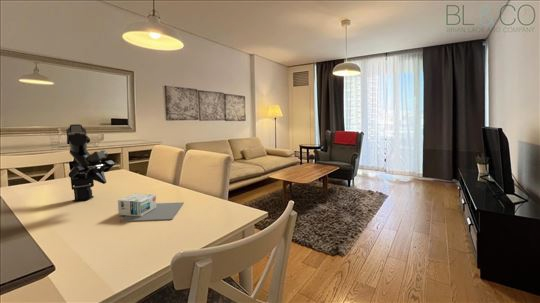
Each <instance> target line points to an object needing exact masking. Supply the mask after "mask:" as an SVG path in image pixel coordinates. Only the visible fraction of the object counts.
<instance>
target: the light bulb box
mask: <svg viewBox="0 0 540 303" xmlns="http://www.w3.org/2000/svg"><path fill="white" fill-rule="evenodd" d="M156 203H157V194H151V193H150V194H149V193H148V194H147V193H135V192H134V193H133V194H130V195H128V196H125V197H122V198H120V199H117V207H118V208H117V212H118V216H126V215H127V216H139V217H142V216H143V215H145V214H147V213H148V212H150V211H152V210H154V209H156Z"/></svg>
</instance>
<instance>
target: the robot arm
mask: <svg viewBox="0 0 540 303" xmlns="http://www.w3.org/2000/svg"><path fill="white" fill-rule="evenodd" d="M65 132H66V144H67V145H69V148H70V149H69V155H71V157H72V158H74V166H73V168H72V169H71V170H69V172H68V177H69V178H70V184H71V191H73V193H74V194H73V196H74V199H73V200H72V202H86V201H89V200H91V199H92V198H94V197H95V196H94V195H93V190H92V188H93V187H94V186H95V183H94V182H98V183H100V184H103V185H105V184H107V179H106V176H105V173H108V172H109V171H110V170H111V169H112V168H113V167H114V166H115V162H114V161H113V160H111V159H110V160H106V159H107V157H108V156H109V155H108V152H107V151H105V150H104V149H103V150H100V151H97V152H94V153H90V152H89V151H88V150H87V148H88V146H87V144H90V142H91V139H90V137H89V136H88V135H87V130H86V128H84V127H83V125H82V124H79V123H78V124H75V123H74V124H69V127H68V128H66V131H65ZM103 160H105V161H103ZM102 161H103V162H102Z"/></svg>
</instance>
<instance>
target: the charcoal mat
mask: <svg viewBox="0 0 540 303" xmlns="http://www.w3.org/2000/svg"><path fill="white" fill-rule="evenodd" d="M184 204H185V202H182V201H181V202H163V203H162V202H156V209H154V210H152V211H150V212H148V213H147V214H145V215H143V216H142V217H139V216H127V215H124V217H123V218H121V219H120V220H119V222H120V223H124V222H125V223H127V222H128V223H131V222H152V221H153V222H154V221H156V222H158V221H173V219H174V218H175V216H176V215H177V214H178V212H180V210H181V208H182V207H183V205H184Z"/></svg>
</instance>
